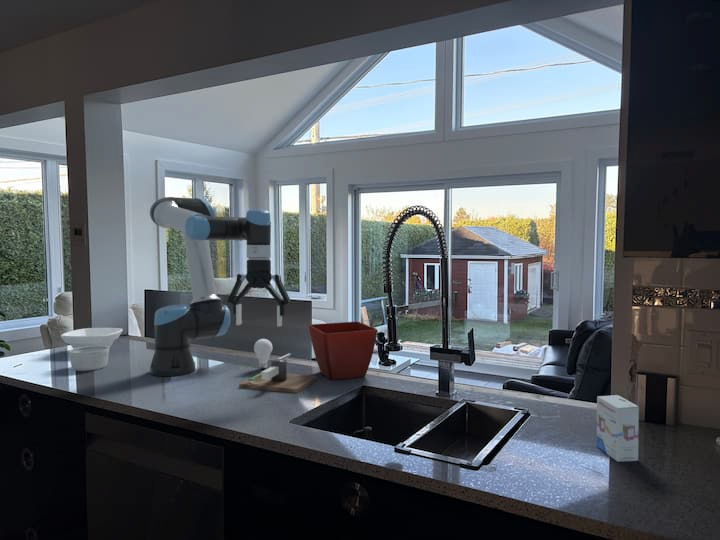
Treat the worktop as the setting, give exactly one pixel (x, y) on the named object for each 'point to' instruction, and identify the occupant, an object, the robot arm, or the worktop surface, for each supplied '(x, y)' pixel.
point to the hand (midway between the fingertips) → (259, 325)
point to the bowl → (91, 337)
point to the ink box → (617, 427)
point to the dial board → (279, 383)
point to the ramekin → (89, 357)
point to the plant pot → (343, 348)
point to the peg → (276, 369)
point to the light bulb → (263, 351)
